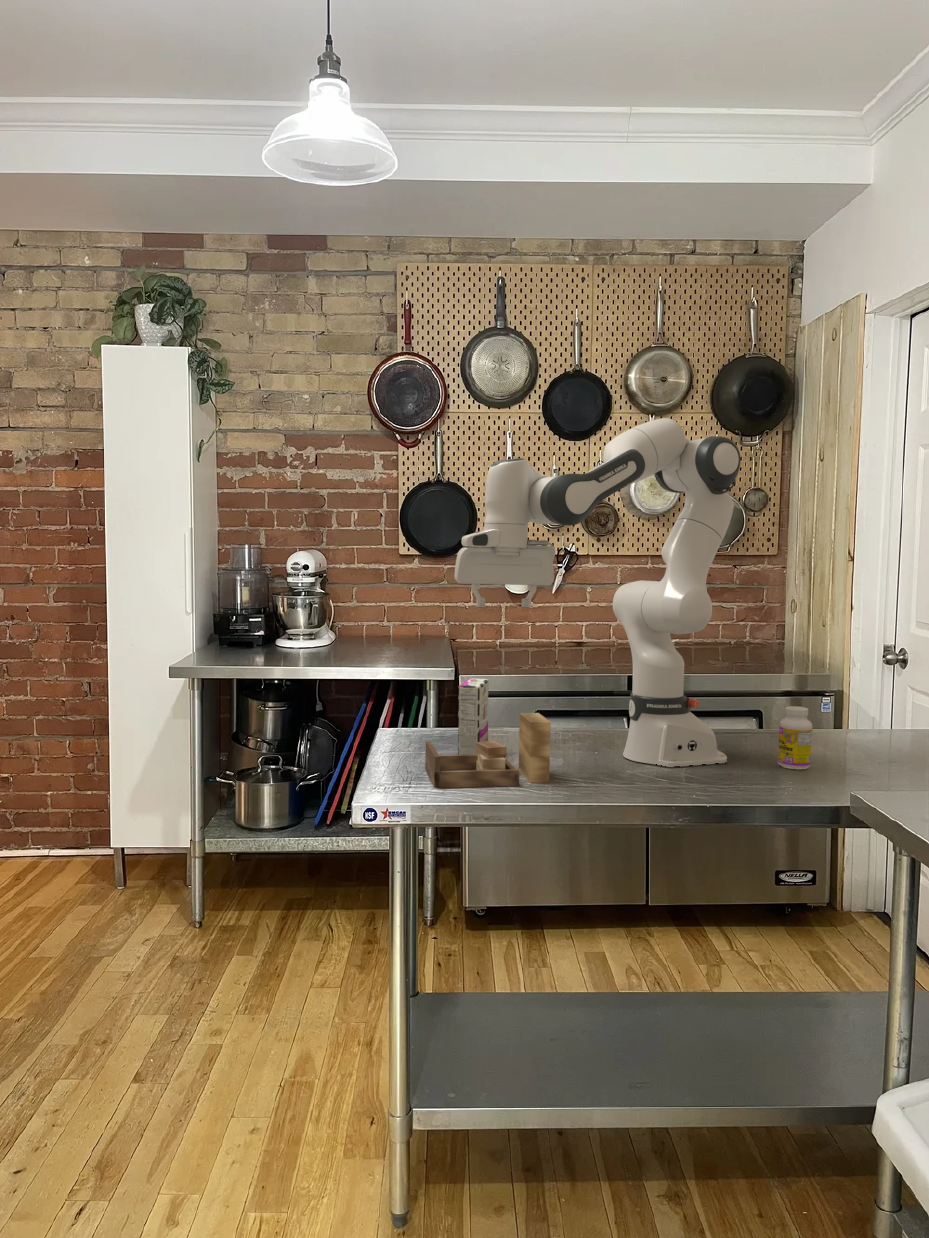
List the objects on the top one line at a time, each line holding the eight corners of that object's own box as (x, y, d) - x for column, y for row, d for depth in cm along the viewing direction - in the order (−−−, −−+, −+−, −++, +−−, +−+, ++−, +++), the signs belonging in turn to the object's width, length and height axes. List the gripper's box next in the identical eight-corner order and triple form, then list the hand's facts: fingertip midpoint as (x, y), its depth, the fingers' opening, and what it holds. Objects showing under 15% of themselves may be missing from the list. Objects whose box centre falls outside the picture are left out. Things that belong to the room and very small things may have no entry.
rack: (503, 767, 198) (504, 739, 198) (518, 785, 184) (519, 755, 184) (425, 769, 196) (425, 740, 195) (434, 787, 182) (434, 756, 181)
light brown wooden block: (537, 770, 197) (538, 713, 196) (549, 782, 187) (550, 722, 186) (518, 770, 197) (519, 713, 196) (529, 782, 187) (530, 722, 186)
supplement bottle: (771, 764, 206) (774, 705, 205) (798, 762, 208) (801, 704, 207) (789, 771, 200) (792, 711, 199) (816, 770, 201) (819, 710, 200)
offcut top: (493, 750, 195) (494, 741, 194) (506, 756, 189) (506, 746, 189) (475, 752, 193) (476, 742, 193) (487, 758, 187) (488, 748, 187)
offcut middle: (499, 762, 195) (499, 750, 195) (505, 771, 187) (505, 759, 187) (477, 762, 195) (477, 750, 194) (482, 771, 187) (482, 759, 187)
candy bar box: (466, 749, 216) (467, 677, 214) (488, 750, 215) (489, 678, 213) (456, 760, 205) (457, 684, 203) (479, 761, 204) (480, 685, 202)
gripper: (551, 540, 197) (548, 607, 198) (454, 537, 194) (452, 605, 195) (559, 540, 191) (556, 609, 192) (459, 537, 187) (457, 607, 188)
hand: (503, 607), depth 193 cm, fingers open, 8 cm apart
